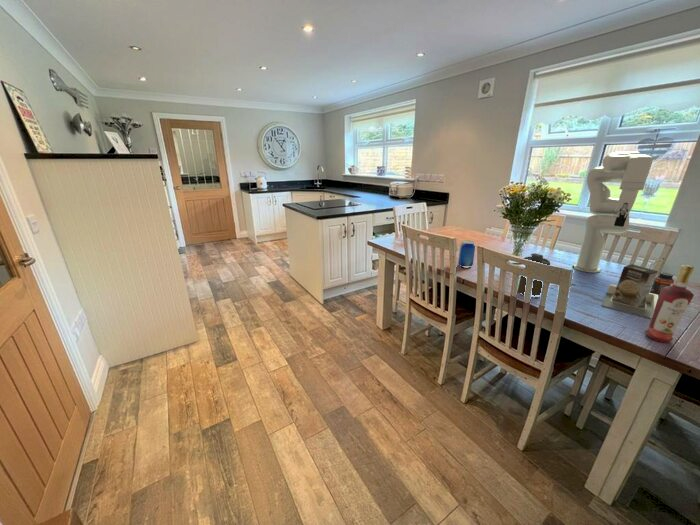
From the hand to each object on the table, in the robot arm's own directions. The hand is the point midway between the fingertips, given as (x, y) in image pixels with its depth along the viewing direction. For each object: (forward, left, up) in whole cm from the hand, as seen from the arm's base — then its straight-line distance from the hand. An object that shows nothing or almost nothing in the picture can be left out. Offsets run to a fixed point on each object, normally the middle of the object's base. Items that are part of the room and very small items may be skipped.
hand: (619, 224), depth 127 cm
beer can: (+16, -62, -33) cm, 72 cm away
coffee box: (+12, +11, -32) cm, 36 cm away
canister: (+30, -23, -33) cm, 50 cm away
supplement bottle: (-6, +20, -33) cm, 39 cm away
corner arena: (+14, +11, -33) cm, 37 cm away
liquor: (+39, +20, -33) cm, 55 cm away
